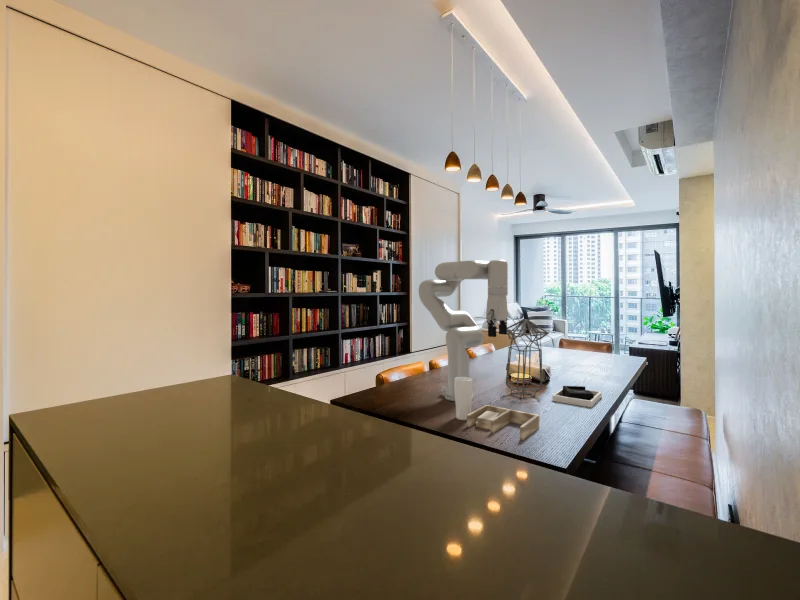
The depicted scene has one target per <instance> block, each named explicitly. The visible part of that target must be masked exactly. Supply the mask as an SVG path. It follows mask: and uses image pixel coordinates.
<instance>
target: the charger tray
mask: <svg viewBox="0 0 800 600" xmlns="http://www.w3.org/2000/svg"><path fill="white" fill-rule="evenodd" d="M588 390H589V391H591V392H592V393H593V394H594V398H592V399H591V400H590V401H589V400H583V399H577V398H570V397H565V396H564V395H563V387H562V388H561V389H559V390H558V391H556V392H554V394H552V397H551V398H552V402H557V403H562V404H569V405H574V406H581V407H586V406H587V407H588V408H593V407H594V406H593V405H594V404H595V403H596V402H597V401H598V400H599V399H600V398H601V397H603V396H602V395H603V394H602V392H603V391H598V390H591V389H588ZM601 399H602V398H601ZM601 399H600V400H601ZM600 400H599V401H600ZM599 401H598V402H599ZM598 402H597V403H598ZM597 403H596V404H597ZM592 406H593V407H592ZM587 407H586V408H587Z"/></svg>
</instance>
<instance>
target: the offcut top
mask: <svg viewBox="0 0 800 600" xmlns="http://www.w3.org/2000/svg"><path fill="white" fill-rule="evenodd" d="M498 415H500V413H497V412H491V411H486V412H484V413H483V414H482V415H480V416H479V417H478V418H477V422H479V423H484V424H489V425H491V420H492V419H494V418H495V417H497V416H498Z"/></svg>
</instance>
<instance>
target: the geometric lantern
mask: <svg viewBox="0 0 800 600" xmlns="http://www.w3.org/2000/svg"><path fill="white" fill-rule="evenodd" d="M513 327H514V328H513ZM520 327H521V328H520ZM511 328H512V329H511ZM540 330H541V331H540ZM517 331H519V332H517ZM527 331H528V333H526V332H527ZM549 334H550V332H548V331H547V330H546V329H543V328H542V327H540V326H539V325H537V324H536V323H534V322H532V321H531V320H530V319H526V318H525V319H524V318H523V319H521V320H519V321H517V322H516V323H513V324H511V325H509V326H507V334H506V335H507V336H508V339H509V340H510V346H508V347H507V348H508V353H507V354H508V355H507V364H506V365H507V366H506V374H505V375H506V377H505V378H506V379H505V385H506V386H507V388H509V389H510V395H511V396H513V397H516V398H519V399H521V400H522V399H529V398H530V399H531V398H536V394H537V393H538V392H539V391H541V390H543V354H542V353H543V351H542V350H543V349H542V342H541V340H542V339H543V338H544V337H545V338H546V336H547V335H549ZM522 336H525V337H526V338H527V339H528V340H529V342H528V344H527V342H525V340H524V339H523V337H522ZM529 336H530V337H529ZM532 337H534V338H533V340H532ZM517 338H521V340H522V341H523V343H524V344H525V345H518V344H517V342H516V339H517ZM538 341H539V342H538ZM513 342H514V344H515V346H514V345H512V344H513ZM534 342H536V345H537V347H533V343H534ZM520 347H523V348H524V349H523V350H522V349H520ZM516 348H517V349H516ZM527 348H528V349H529V350H528V349H527ZM531 348H532V349H533V350H531ZM534 349H535V350H534ZM512 350H515V351H517V352H518V365H517V378H516V380H517V381H509V373H510V368H511V366H510V365H511V358H512ZM527 352H529V354H528V356H529V358H528V359H529V361H528V381H527V380H525V377H526V373H525V372H526V364H527ZM531 352H538V359H539V360H538V361H539V363H538V364H539V381H540V382H539V383H540V384H539V385H538V384H536V383H534V382H531ZM521 353H522V380H519V378H520V365H521V364H520V363H521ZM519 383H522V387H519ZM525 383H526V385H525ZM512 384H516V386H513V385H512ZM529 384H531V385H534V386H535V387H538V388H528V385H529ZM526 391H530V392H526ZM515 394H519V395H520V396H518V395H515ZM525 395H530V396H527V397H526V396H525ZM521 396H522V397H521Z"/></svg>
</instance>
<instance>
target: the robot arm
mask: <svg viewBox="0 0 800 600" xmlns="http://www.w3.org/2000/svg"><path fill="white" fill-rule="evenodd" d="M508 265H509V264H508V262H507V261H506V260H505V259H494V260H493V259H492V260H460V261H459V260H458V261H448V262H447V261H446V262H441V263H439V264H438V265H437V266H435V269H434V275H435V277H436V279H426V280H423V281H422V282H420V283H419V286H418V295H419V296H418V297H419V299H420V302H421V303H422V305H423V306H424V307H425V309H427V311H428V312H429V313H430V315H431V316H432V317H433V319H434V321H435V322H436V325H438V327H439V328H440V329H441V330H442V331H444V332H446V333H445V343H446V348H447V373H448V375H447V381H448V382H447V386H445V385H442V386H441V389H440V390H441V391H442V392H445V394H444V398H445V400H446V401H447V400H448V401H451V402H455V392H454V379H455V378H456V377H469V378H471V377H470V375H471V374H470V373H471V370H470V369H471V365H470V364H471V363H470V362H471V361H470V355H469V354H468V351H467V349H468V348H469V349H470V348H476V347H479V346H481V345H482V344H483V341H484V334H483V332H482V329H481V328H480V327H479V326H478V324H477V323H476V321H475V320H474V319H473V318H472V316H471V315H470V314H469V313H468V312H467V311H465V310H461V309H460V310H458V309H457V310H453V309H450V308H449V306H448V305H447V303H446V302H445V301H444V300H443V299H440V298H442V297H445V298H446V297H451V296H452V295H453V294H454V293H455V292H456V290H457V289H458V288H459V286H460V285H461V283H462V282H463V281H464V280H487V301H486V309H485V310H486V312H485V313H486V314H485V319H486V323H487V336H488V337H490V338H496V337H497V326H496V325H497V322H499V324H498V335H507V333H508V332H507V327H508V321H509V318H508V316H509V313H508V298H507V296H508V292H509V290H508V284H509V283H508V279H509V277H508V276H509V275H508ZM472 400H474V395H473V394H472Z"/></svg>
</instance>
